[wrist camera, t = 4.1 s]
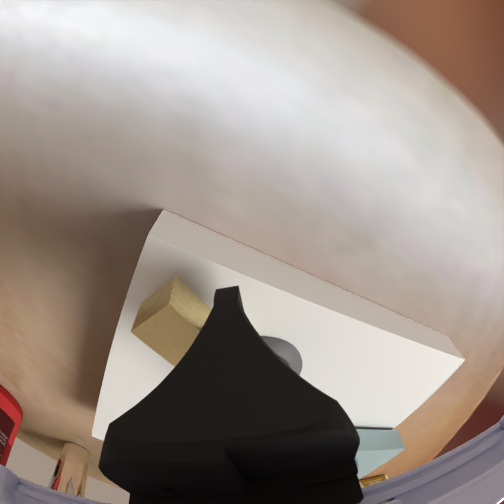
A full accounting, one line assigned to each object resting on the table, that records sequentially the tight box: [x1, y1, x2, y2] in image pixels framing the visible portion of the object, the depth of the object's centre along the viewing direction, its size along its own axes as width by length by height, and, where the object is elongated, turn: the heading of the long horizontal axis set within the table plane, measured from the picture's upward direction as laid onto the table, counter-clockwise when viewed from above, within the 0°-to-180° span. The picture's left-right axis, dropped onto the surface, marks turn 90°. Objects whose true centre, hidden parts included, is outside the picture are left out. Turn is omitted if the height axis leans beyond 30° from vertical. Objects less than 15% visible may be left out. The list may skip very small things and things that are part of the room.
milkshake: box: [47, 442, 90, 498], centre depth 19 cm, size 4×5×10 cm
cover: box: [355, 429, 405, 479], centre depth 17 cm, size 7×11×3 cm, turn 62°
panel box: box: [92, 209, 465, 441], centre depth 18 cm, size 18×22×3 cm
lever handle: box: [131, 276, 291, 368], centre depth 11 cm, size 8×3×2 cm, turn 37°
